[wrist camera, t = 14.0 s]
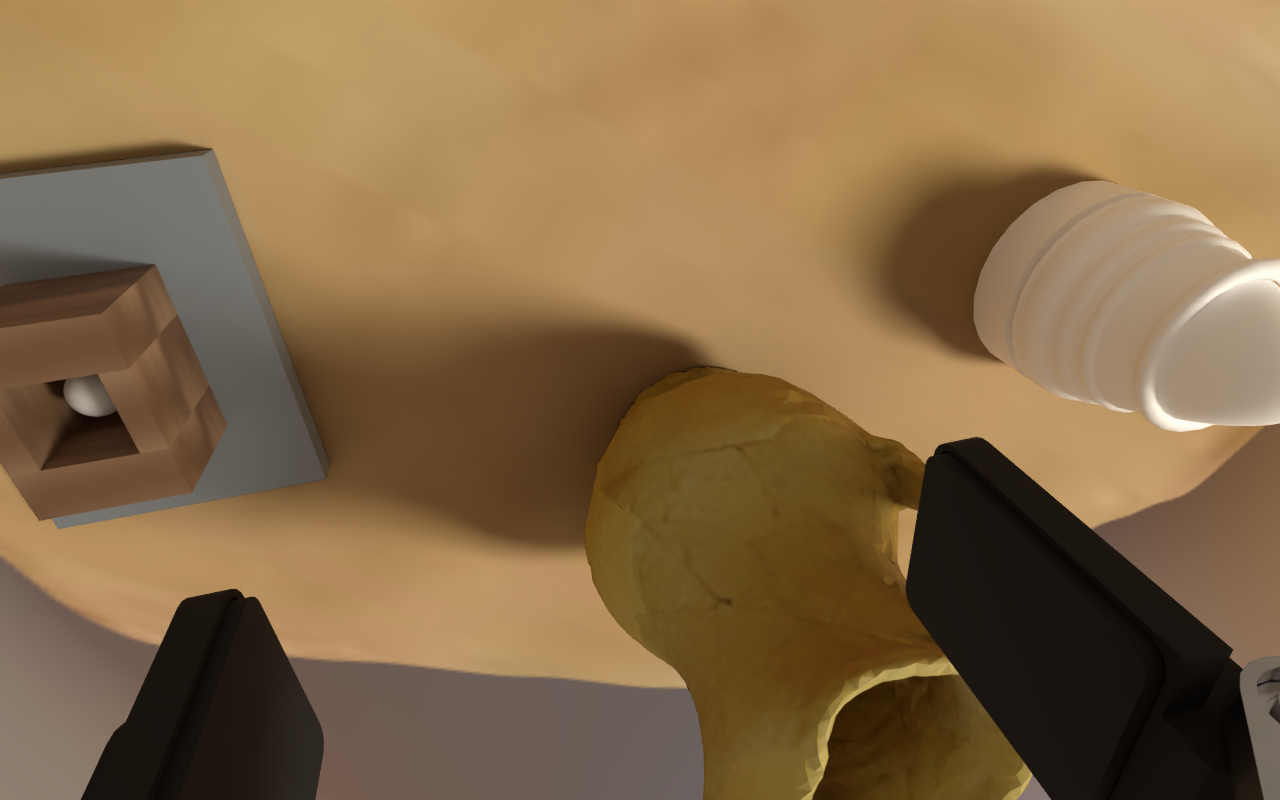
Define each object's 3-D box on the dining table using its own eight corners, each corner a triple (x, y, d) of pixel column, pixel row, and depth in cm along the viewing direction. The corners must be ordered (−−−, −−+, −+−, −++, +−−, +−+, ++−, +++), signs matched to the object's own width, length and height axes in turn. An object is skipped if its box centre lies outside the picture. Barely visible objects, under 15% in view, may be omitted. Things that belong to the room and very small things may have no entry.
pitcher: (558, 345, 41) (664, 715, 20) (851, 316, 45) (1203, 606, 24) (572, 564, 50) (658, 985, 29) (818, 526, 53) (1054, 876, 32)
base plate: (-133, 188, 30) (-244, 226, 26) (213, 148, 33) (170, 176, 28) (71, 511, 40) (17, 583, 35) (330, 464, 42) (313, 526, 37)
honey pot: (1183, 190, 46) (1545, 288, 31) (1095, 367, 52) (1361, 524, 37) (1019, 169, 42) (1334, 269, 27) (945, 362, 48) (1169, 532, 33)
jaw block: (3, 285, 32) (-82, 340, 27) (155, 264, 33) (101, 313, 28) (96, 447, 37) (39, 520, 32) (227, 425, 38) (192, 493, 33)
